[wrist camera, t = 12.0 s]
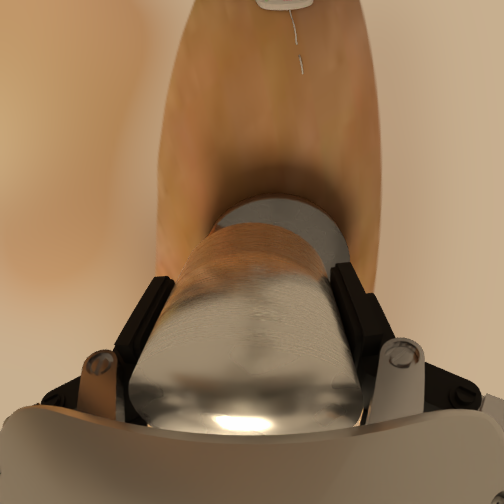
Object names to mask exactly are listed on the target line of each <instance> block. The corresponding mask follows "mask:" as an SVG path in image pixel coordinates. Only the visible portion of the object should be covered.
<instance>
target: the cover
mask: <svg viewBox="0 0 504 504" xmlns="http://www.w3.org/2000/svg"><path fill="white" fill-rule="evenodd" d="M128 391H129V397H130V400H131V402H132V405H133V406H134V408H135V410H136V411H137V413H138V414H139V415H140V416H141V417H142V419H143V420H144V421H145V422H146V423H148V424H149V425H150V426H151V427H152V428H159V429H166V430H174V431H182V432H192V433H204V434H220V435H282V434H298V433H310V432H320V431H328V430H336V429H343V428H349V427H353V426H354V425H355V424H356V423H357V421H358V419H359V418H360V416H361V413H362V410H363V404H364V400H363V395H362V391H361V387H360V383H359V379H358V375H357V372H356V368H355V364H354V361H353V357H352V353H351V350H350V346H349V343H348V339H347V336H346V332H345V329H344V326H343V322H342V319H341V316H340V313H339V309H338V306H337V303H336V300H335V297H334V294H333V291H332V288H331V285H330V282H329V279H328V276H327V273H326V270H325V267H324V264H323V262H322V260H321V258H320V256H319V255H318V253H317V252H316V251H315V249H314V248H313V247H312V246H311V245H310V244H309V243H308V242H307V241H306V240H304V239H303V238H302V237H300V236H299V235H297V234H295V233H294V232H292V231H290V230H287V229H285V228H283V227H280V226H276V225H272V224H266V223H240V224H235V225H231V226H227V227H225V228H222V229H220V230H218V231H216V232H214V233H212V234H210V235H209V236H208V237H206V238H205V239H204V240H202V241H201V242H200V243H199V244H198V245H197V246H196V248H195V249H194V250H193V252H192V253H191V255H190V257H189V258H188V260H187V262H186V264H185V266H184V268H183V270H182V272H181V274H180V276H179V278H178V280H177V282H176V283H175V285H174V287H173V289H172V291H171V293H170V295H169V297H168V299H167V301H166V303H165V305H164V307H163V309H162V311H161V313H160V316H159V318H158V320H157V322H156V324H155V326H154V328H153V330H152V332H151V334H150V336H149V338H148V341H147V343H146V345H145V347H144V349H143V351H142V354H141V356H140V358H139V360H138V362H137V365H136V367H135V369H134V371H133V374H132V376H131V378H130V381H129V387H128Z"/></svg>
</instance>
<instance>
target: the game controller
mask: <svg viewBox="0 0 504 504" xmlns="http://www.w3.org/2000/svg"><path fill="white" fill-rule="evenodd" d="M256 2H257V4H258V5H259V6H260V7H261V8H264V9H268V10H289V12H290V16H291V19H292V22H293V26H294V31H295V40H296V45H297V35H296V29H295V25H294V21H293V18H292V15H291V11H290V10H292V9H299V8H304V7H307V6H310V5H311V4H312V3H313V0H256ZM299 58H300V63H301V69H302V74H303V67H302V62H301V57H300V55H299Z"/></svg>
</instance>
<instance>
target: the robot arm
mask: <svg viewBox="0 0 504 504" xmlns="http://www.w3.org/2000/svg"><path fill="white" fill-rule="evenodd" d="M174 285H175V282H174V280H173V279H170V278H169V277H168V276H161V277H154V278H153V280H152V281H151V283H150V285H149V286H148V288H147V289H146V291H145V293H144V294H143V296H142V298H141V299H140V301H139V302H138V304H137V306H136V308H135V309H134V311H133V313H132V314H131V316H130V318H129V319H128V321H127V323H126V325H125V326H124V328H123V330H122V332H121V333H120V335H119V337H118V339H117V340H116V342H115V344H114V345H115V347H114V349H113V351H111V350H99V351H96V352H94V353H92V354H91V355H90V356H89V357H88V358H87V359H86V360H85V362H84V364H83V367H82V373H81V376H79V377H77V378H75V379H74V380H71V381H70V382H68V383H65V384H64V385H61V386H60V387H58V388H56V389H54V390H52V391H50V392H48V393H47V394H46V395H45V396H44V398H43V399H42V401H41V405H40V404H39V403H37V404H34V405H32V406H26V407H22V408H20V409H18V410H16V411H15V412H14V413H13V414H12V415H11V416H9V417H8V418H7V419H6V420H5V421H4V424H3V428H2V430H1V431H0V504H504V400H503V399H500V398H497V397H495V396H492V395H490V394H486V395H485V396H482V395H481V392H480V390H479V388H478V387H477V386H476V385H475V384H474V383H473V382H471V381H469V380H467V379H464V378H462V377H459V376H457V375H455V374H452V373H450V372H448V371H445V370H443V369H441V368H438V367H436V366H434V365H431V364H429V363H427V362H425V358H424V352H423V350H422V348H421V347H420V345H419V344H417V343H416V342H414V341H413V340H410V339H407V338H395V336H394V333H393V331H392V329H391V327H390V325H389V323H388V321H387V319H386V317H385V314H384V312H383V310H382V308H381V306H380V304H379V302H378V300H377V298H376V296H375V295H374V294H373V293H367V294H366V293H365V291H364V289H363V287H362V285H361V282H360V280H359V278H358V276H357V274H356V272H355V270H354V268H353V266H352V264H351V263H350V262H343V263H336V264H335V267H331V269H330V285H331V288H332V291H333V294H334V297H335V300H336V303H337V306H338V309H339V313H340V316H341V319H342V322H343V326H344V329H345V332H346V336H347V339H348V343H349V346H350V350H351V353H352V357H353V361H354V364H355V368H356V372H357V375H358V379H359V383H360V387H361V391H362V395H363V400H364V404H363V410H362V413H361V416H360V420H359V424H358V426H356V427H349V428H343V429H336V430H328V431H320V432H310V433H298V434H282V435H220V434H204V433H192V432H182V431H174V430H166V429H159V428H152V427H151V426H150V425H149V424H148V423H146V422H145V421H144V420H143V419H142V417H141V416H140V415H139V414H138V413H137V411H136V410H135V408H134V406H133V405H132V402H131V400H130V397H129V391H128V387H129V381H130V378H131V376H132V374H133V371H134V369H135V367H136V365H137V362H138V360H139V358H140V356H141V354H142V351H143V349H144V347H145V345H146V343H147V341H148V338H149V336H150V334H151V332H152V330H153V328H154V326H155V324H156V322H157V320H158V318H159V316H160V313H161V311H162V309H163V307H164V305H165V303H166V301H167V299H168V297H169V295H170V293H171V291H172V289H173V287H174Z"/></svg>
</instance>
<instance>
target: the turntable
mask: <svg viewBox="0 0 504 504" xmlns="http://www.w3.org/2000/svg"><path fill="white" fill-rule="evenodd" d="M240 223H266V224H272V225H276V226H280V227H283V228H285V229H287V230H290V231H292V232H294V233H295V234H297V235H299V236H300V237H302V238H303V239H304V240H306V241H307V242H308V243H309V244H310V245H311V246H312V247H313V248H314V249H315V251H316V252H317V253H318V255H319V256H320V258H321V260H322V262H323V264H324V267H325V270H326V273H327V276H328V279H329V282H330V269H331V267H335V264H336V263H343V262H350V255H349V251H348V246H347V244H346V241H345V239H344V237H343V235H342V233H341V231H340V230H339V228H338V226H337V224H336V223H335V221H334V220H333V219H332V218H331V216H330V215H329V214H328V213H326V212H325V211H324V210H323V209H322V208H321V207H319V206H318V205H316V204H315V203H313V202H311V201H309V200H307V199H304V198H301V197H298V196H295V195H290V194H281V193H271V194H262V195H257V196H253V197H250V198H247V199H245V200H243V201H241V202H239V203H237V204H235V205H234V206H232V207H231V208H229V209H228V210H227V211H226V212H225V213H224V214H222V215H221V217H220V218H219V219H218V220H217V221H216V223H215V224H214V226H213V227H212V229H211V231H210V233H209V235H210V234H212V233H214V232H216V231H218V230H220V229H222V228H225V227H227V226H231V225H235V224H240ZM209 235H208V236H209Z"/></svg>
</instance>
